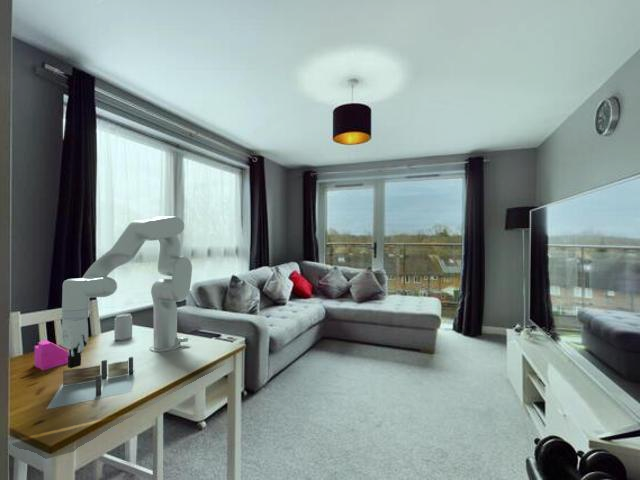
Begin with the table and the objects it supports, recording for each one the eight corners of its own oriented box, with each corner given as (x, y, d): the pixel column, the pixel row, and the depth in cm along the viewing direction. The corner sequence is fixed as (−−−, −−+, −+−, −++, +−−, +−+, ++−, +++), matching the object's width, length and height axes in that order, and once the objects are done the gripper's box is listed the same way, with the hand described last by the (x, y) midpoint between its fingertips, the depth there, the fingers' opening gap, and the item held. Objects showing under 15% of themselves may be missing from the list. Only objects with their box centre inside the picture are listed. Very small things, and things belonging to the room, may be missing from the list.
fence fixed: (133, 372, 111) (133, 355, 111) (130, 389, 99) (130, 369, 99) (101, 378, 106) (101, 360, 106) (95, 396, 94) (95, 376, 94)
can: (110, 340, 148) (110, 316, 148) (122, 335, 155) (122, 312, 155) (123, 341, 146) (123, 316, 146) (135, 336, 154) (135, 313, 154)
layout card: (134, 371, 113) (134, 370, 113) (131, 393, 97) (131, 391, 97) (62, 384, 103) (62, 382, 103) (46, 411, 87) (46, 409, 87)
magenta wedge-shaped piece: (42, 372, 113) (42, 344, 113) (34, 365, 119) (34, 339, 119) (81, 361, 123) (81, 336, 123) (72, 355, 129) (72, 331, 129)
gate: (100, 378, 106) (100, 364, 106) (99, 379, 105) (99, 365, 105) (63, 384, 101) (63, 370, 101) (62, 386, 100) (62, 371, 100)
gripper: (53, 313, 106) (51, 365, 106) (72, 318, 99) (70, 375, 98) (78, 309, 112) (77, 358, 112) (98, 314, 105) (97, 367, 105)
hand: (74, 366), depth 105 cm, fingers closed
